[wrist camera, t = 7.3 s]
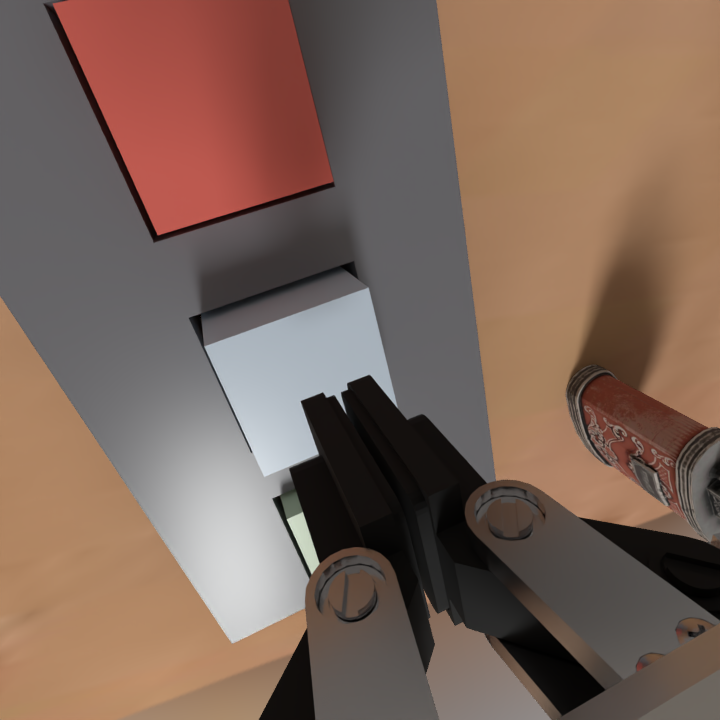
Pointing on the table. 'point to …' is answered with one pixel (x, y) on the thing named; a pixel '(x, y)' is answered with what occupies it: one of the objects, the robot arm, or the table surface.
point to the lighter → (649, 445)
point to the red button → (201, 101)
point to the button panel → (236, 279)
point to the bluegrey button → (293, 358)
